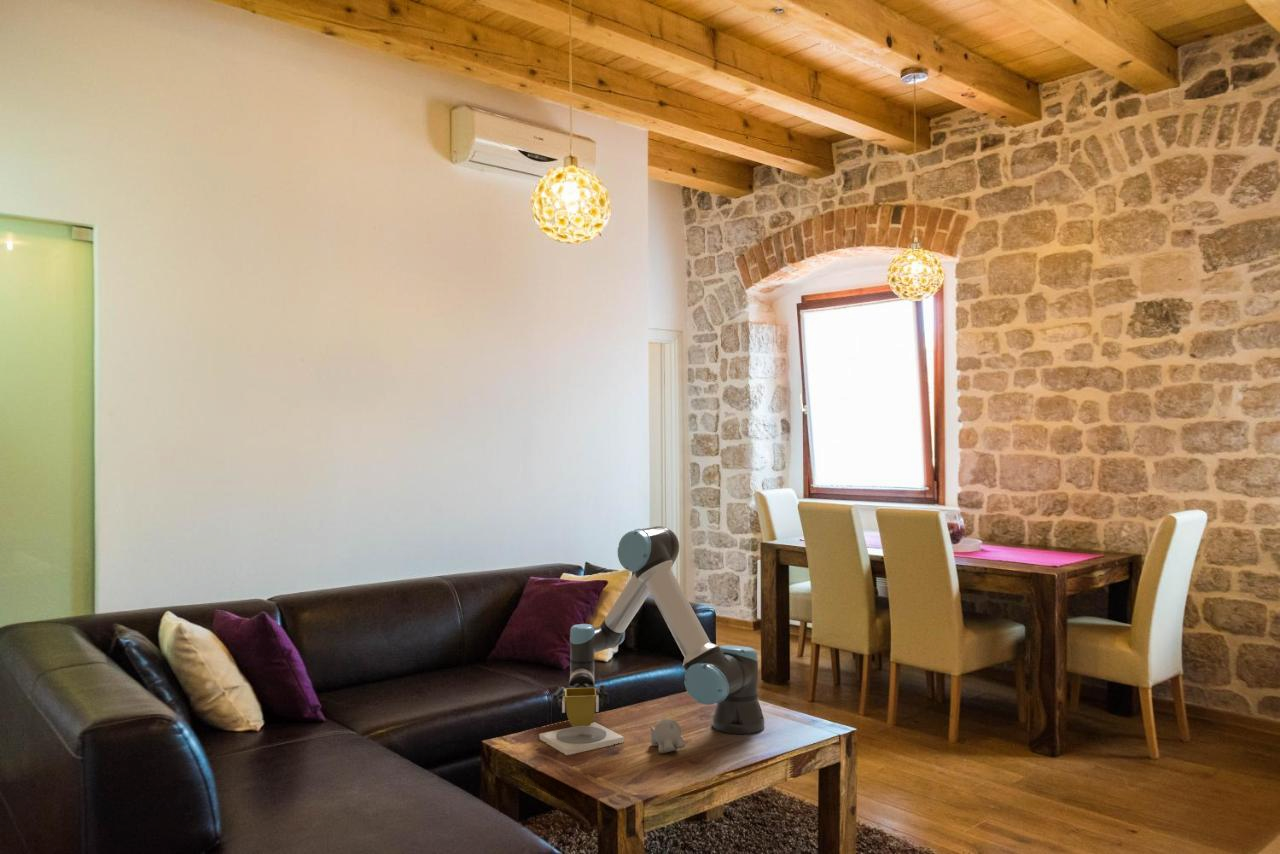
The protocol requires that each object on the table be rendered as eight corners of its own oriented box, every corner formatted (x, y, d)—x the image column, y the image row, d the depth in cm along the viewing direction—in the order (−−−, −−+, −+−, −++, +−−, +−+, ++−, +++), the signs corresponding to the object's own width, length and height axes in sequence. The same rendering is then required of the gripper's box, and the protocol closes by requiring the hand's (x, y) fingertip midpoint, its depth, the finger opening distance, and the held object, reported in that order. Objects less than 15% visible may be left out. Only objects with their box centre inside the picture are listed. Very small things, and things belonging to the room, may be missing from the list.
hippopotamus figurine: (667, 752, 246) (661, 721, 249) (689, 747, 237) (683, 714, 240) (644, 757, 243) (639, 724, 246) (666, 752, 233) (660, 718, 236)
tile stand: (623, 742, 247) (623, 735, 247) (566, 755, 238) (566, 748, 238) (595, 727, 261) (595, 721, 261) (539, 739, 251) (539, 732, 251)
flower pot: (565, 719, 253) (564, 687, 254) (595, 718, 254) (595, 686, 254) (565, 729, 245) (564, 696, 245) (596, 728, 245) (596, 695, 246)
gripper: (617, 696, 268) (619, 720, 245) (546, 697, 267) (541, 721, 244) (617, 671, 268) (619, 692, 245) (546, 672, 267) (541, 694, 244)
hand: (580, 707), depth 245 cm, fingers closed on flower pot, 8 cm apart
